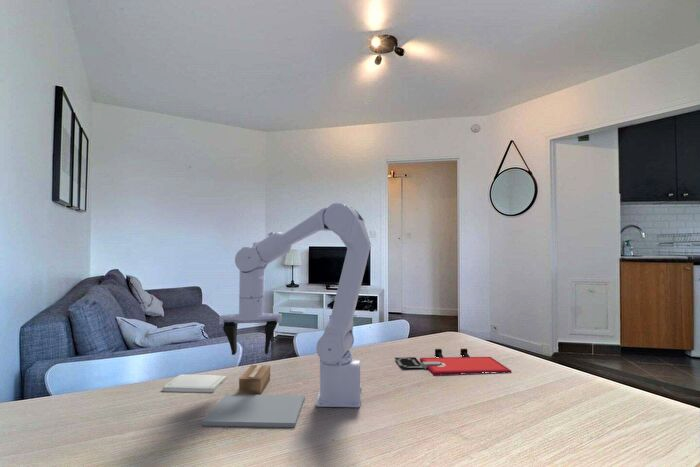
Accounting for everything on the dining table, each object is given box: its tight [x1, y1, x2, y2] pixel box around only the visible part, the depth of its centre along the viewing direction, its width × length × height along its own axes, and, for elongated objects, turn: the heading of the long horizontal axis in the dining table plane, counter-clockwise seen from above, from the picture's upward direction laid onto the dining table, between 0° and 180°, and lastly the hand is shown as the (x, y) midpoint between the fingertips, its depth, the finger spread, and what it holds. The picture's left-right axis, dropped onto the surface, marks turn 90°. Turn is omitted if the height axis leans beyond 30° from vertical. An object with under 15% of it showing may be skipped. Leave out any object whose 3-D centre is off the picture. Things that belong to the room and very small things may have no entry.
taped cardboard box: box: [238, 364, 271, 395], centre depth 83 cm, size 5×9×4 cm, turn 179°
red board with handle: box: [394, 348, 512, 376], centre depth 100 cm, size 30×3×15 cm
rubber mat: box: [201, 393, 306, 428], centre depth 71 cm, size 18×12×1 cm, turn 89°
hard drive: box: [162, 374, 228, 393], centre depth 84 cm, size 2×8×12 cm
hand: (250, 353), depth 82 cm, fingers open, 7 cm apart
